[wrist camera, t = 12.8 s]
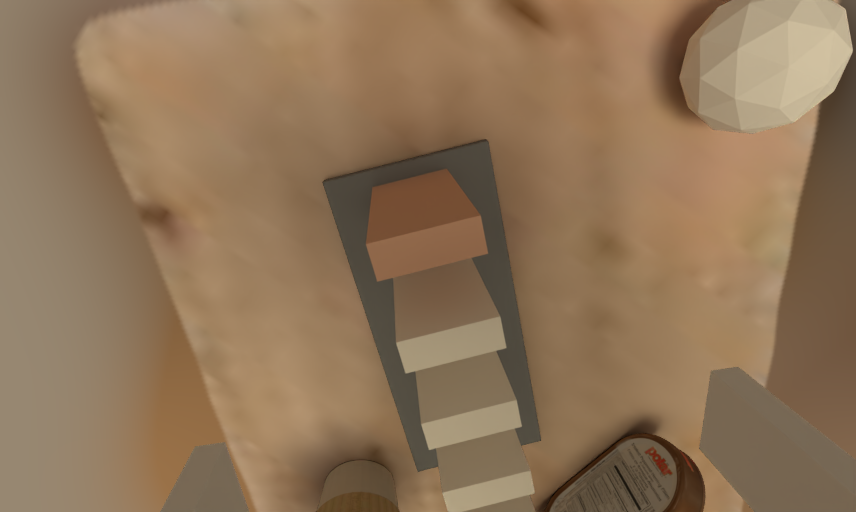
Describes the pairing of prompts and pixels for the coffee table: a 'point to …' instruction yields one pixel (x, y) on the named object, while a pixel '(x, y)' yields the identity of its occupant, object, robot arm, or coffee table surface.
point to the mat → (377, 298)
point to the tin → (634, 480)
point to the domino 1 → (422, 225)
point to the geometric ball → (764, 62)
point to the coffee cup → (359, 489)
